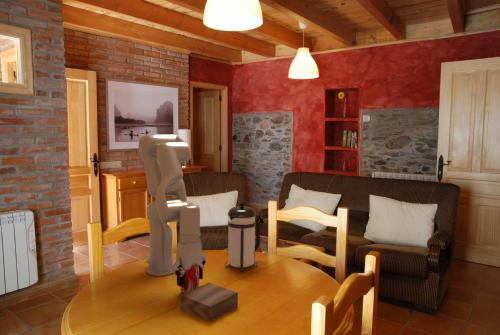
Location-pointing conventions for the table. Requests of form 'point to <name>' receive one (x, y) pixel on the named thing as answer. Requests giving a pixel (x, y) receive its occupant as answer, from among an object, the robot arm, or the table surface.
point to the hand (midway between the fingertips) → (190, 282)
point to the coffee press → (242, 236)
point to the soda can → (190, 278)
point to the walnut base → (209, 301)
